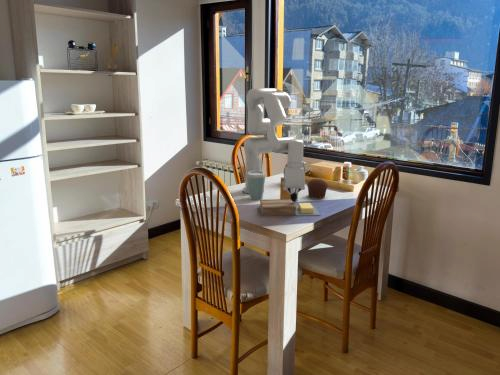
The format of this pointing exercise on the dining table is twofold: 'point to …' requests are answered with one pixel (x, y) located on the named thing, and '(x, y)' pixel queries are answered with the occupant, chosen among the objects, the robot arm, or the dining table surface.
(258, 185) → the disposable coffee cup
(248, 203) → the dining table surface
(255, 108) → the robot arm
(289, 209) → the deck
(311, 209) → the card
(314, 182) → the muffin
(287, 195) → the small box
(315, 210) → the mat
